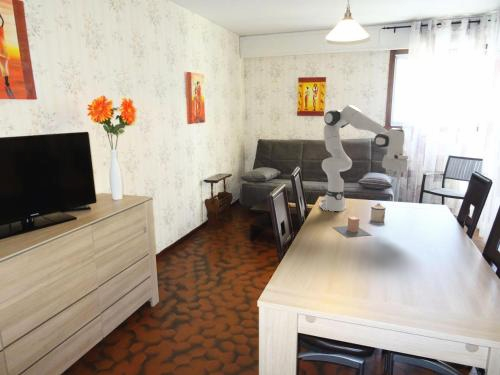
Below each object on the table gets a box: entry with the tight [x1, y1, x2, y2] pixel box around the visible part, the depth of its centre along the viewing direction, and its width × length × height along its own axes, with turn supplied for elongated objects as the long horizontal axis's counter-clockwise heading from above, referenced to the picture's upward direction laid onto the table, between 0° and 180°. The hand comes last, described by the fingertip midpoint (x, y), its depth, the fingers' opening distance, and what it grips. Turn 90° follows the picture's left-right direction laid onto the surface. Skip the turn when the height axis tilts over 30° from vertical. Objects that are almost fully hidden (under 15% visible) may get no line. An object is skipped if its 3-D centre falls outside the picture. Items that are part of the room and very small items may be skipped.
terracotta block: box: [347, 216, 360, 232], centre depth 210 cm, size 5×4×8 cm
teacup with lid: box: [370, 202, 386, 223], centre depth 233 cm, size 12×9×12 cm
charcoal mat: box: [332, 225, 372, 238], centre depth 210 cm, size 18×16×1 cm
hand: (392, 177), depth 217 cm, fingers open, 8 cm apart
